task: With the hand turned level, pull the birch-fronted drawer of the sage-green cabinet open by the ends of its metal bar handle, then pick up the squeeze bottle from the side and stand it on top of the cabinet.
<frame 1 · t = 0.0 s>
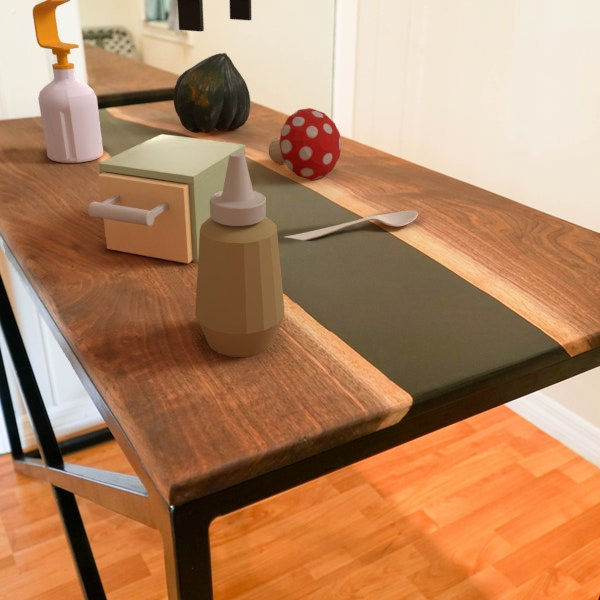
hand: (217, 25, 79), 24 cm above the table, tool pointing down, fingers open, 13 cm apart
spoon: (348, 233, 85), on the table
squash: (212, 130, 130), on the table
soap bottle: (76, 157, 112), on the table
drawer: (161, 208, 76), point 5 cm above the table, slide at 0.0 cm, touching cabinet
squeeze bottle: (241, 346, 61), on the table
cabinet: (181, 238, 82), on the table
decorative mushroom: (302, 172, 108), on the table
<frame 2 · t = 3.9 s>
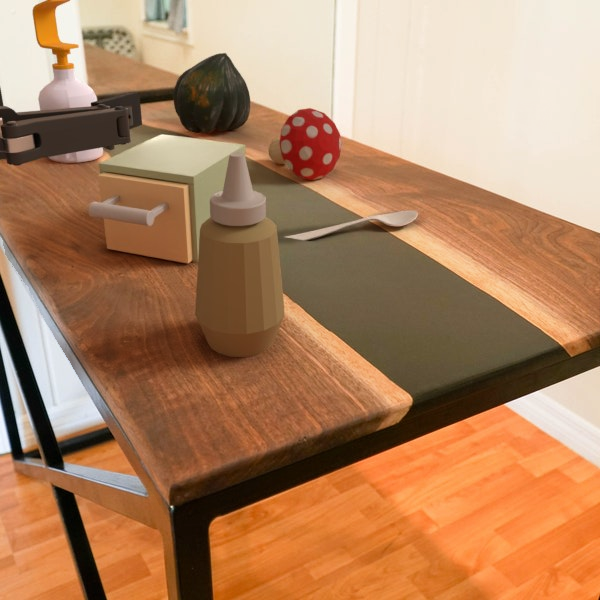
hand: (66, 104, 58), 20 cm above the table, tool horizontal, fingers open, 13 cm apart
nothing on the table moved.
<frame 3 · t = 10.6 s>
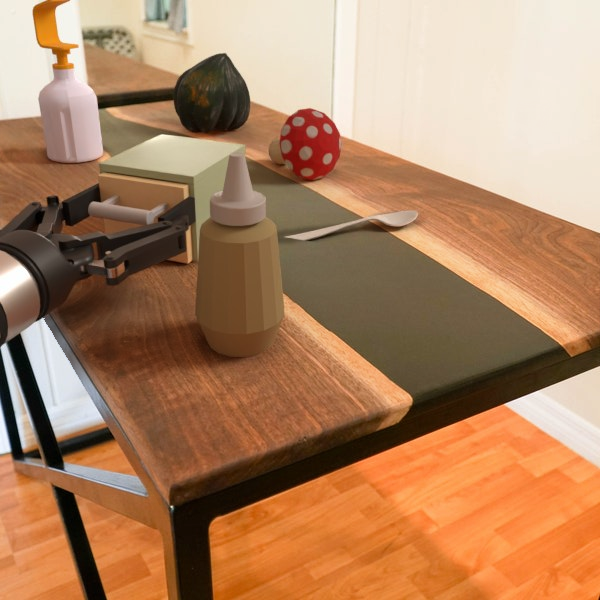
hand: (146, 201, 73), 7 cm above the table, tool horizontal, fingers closed on cabinet, drawer, 11 cm apart
drawer: (161, 208, 76), point 5 cm above the table, slide at 0.0 cm, touching gripper
everything else where it was.
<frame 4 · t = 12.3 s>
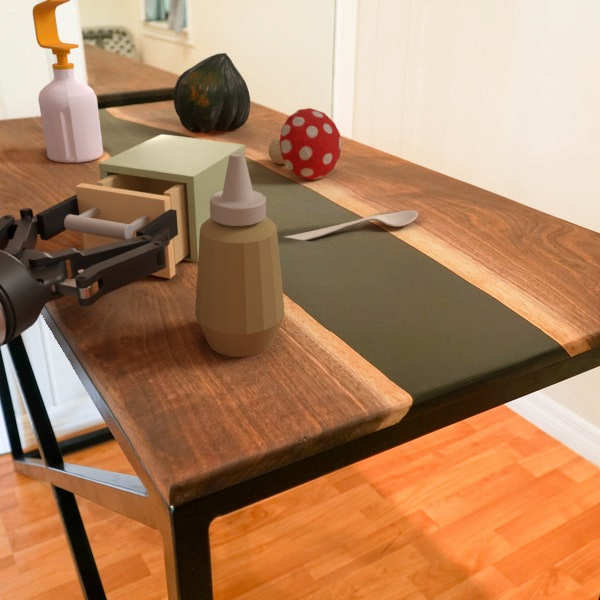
hand: (126, 213, 70), 7 cm above the table, tool horizontal, fingers closed on drawer, 11 cm apart
drawer: (142, 220, 73), point 5 cm above the table, slide at 4.1 cm, touching gripper
everything else where it was.
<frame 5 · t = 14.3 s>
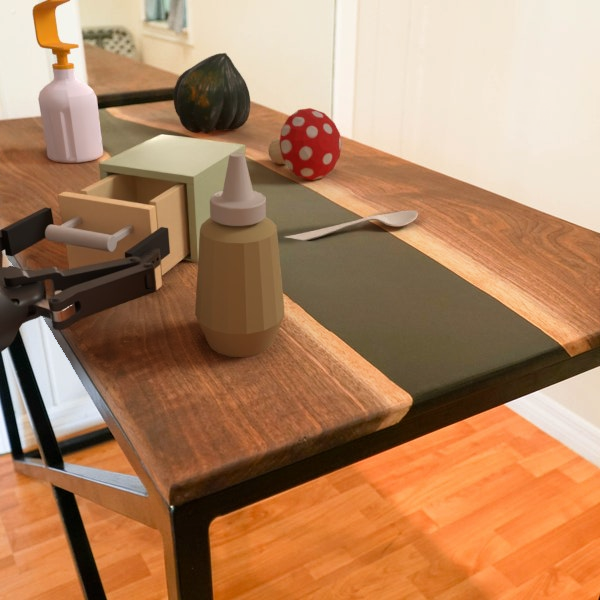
hand: (106, 229, 67), 7 cm above the table, tool horizontal, fingers open, 13 cm apart
drawer: (128, 229, 70), point 5 cm above the table, slide at 7.0 cm
everything else where it was.
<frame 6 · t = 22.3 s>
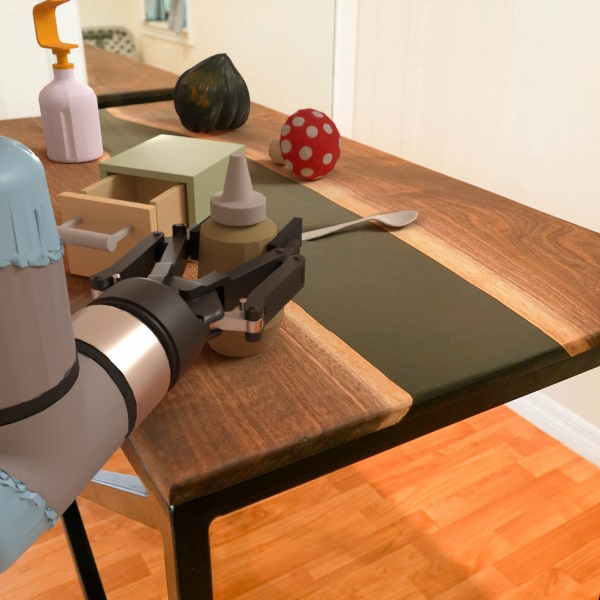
hand: (261, 225, 60), 10 cm above the table, tool horizontal, fingers closed on squeeze bottle, 6 cm apart
squeeze bottle: (240, 346, 61), on the table, touching gripper
everything else where it was.
when the fingers open (21 cm above the table, at t = 32.0 s): squeeze bottle stays where it is, resting on cabinet.
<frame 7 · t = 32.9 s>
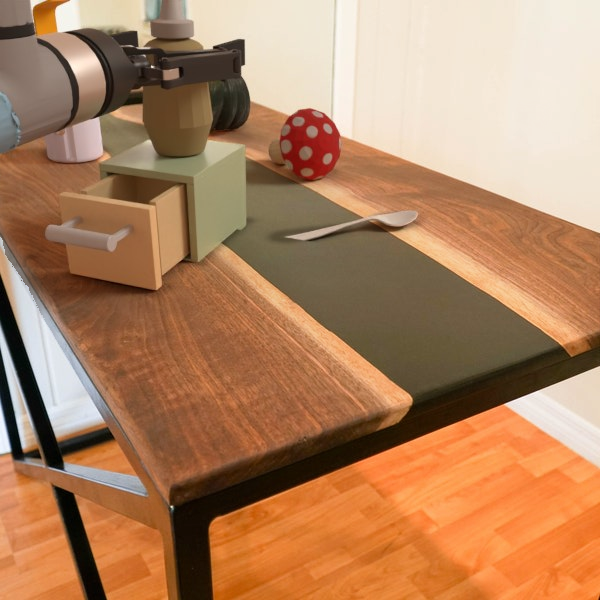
hand: (187, 47, 75), 22 cm above the table, tool horizontal, fingers open, 13 cm apart
squeeze bottle: (180, 152, 78), point 11 cm above the table, touching cabinet
everything else where it was.
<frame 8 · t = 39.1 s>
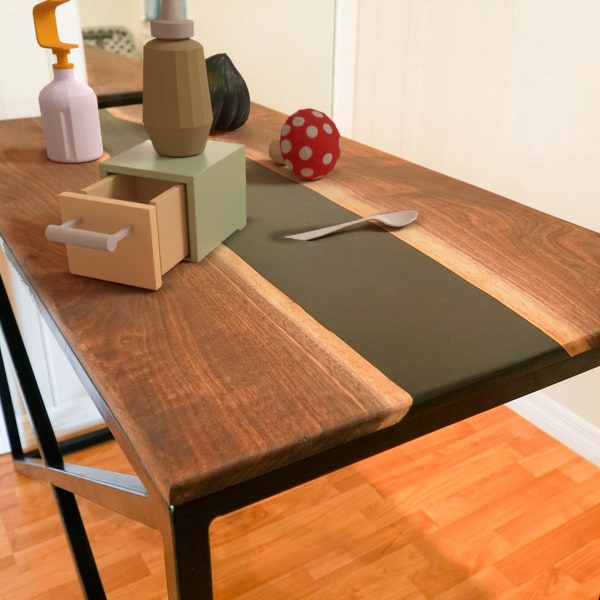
nothing on the table moved.
at the end: drawer slide at 7.0 cm; squeeze bottle inside the target area on the cabinet (0.9 cm from its centre), point 10.6 cm above the cabinet's base; squeeze bottle tilted 0° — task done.
